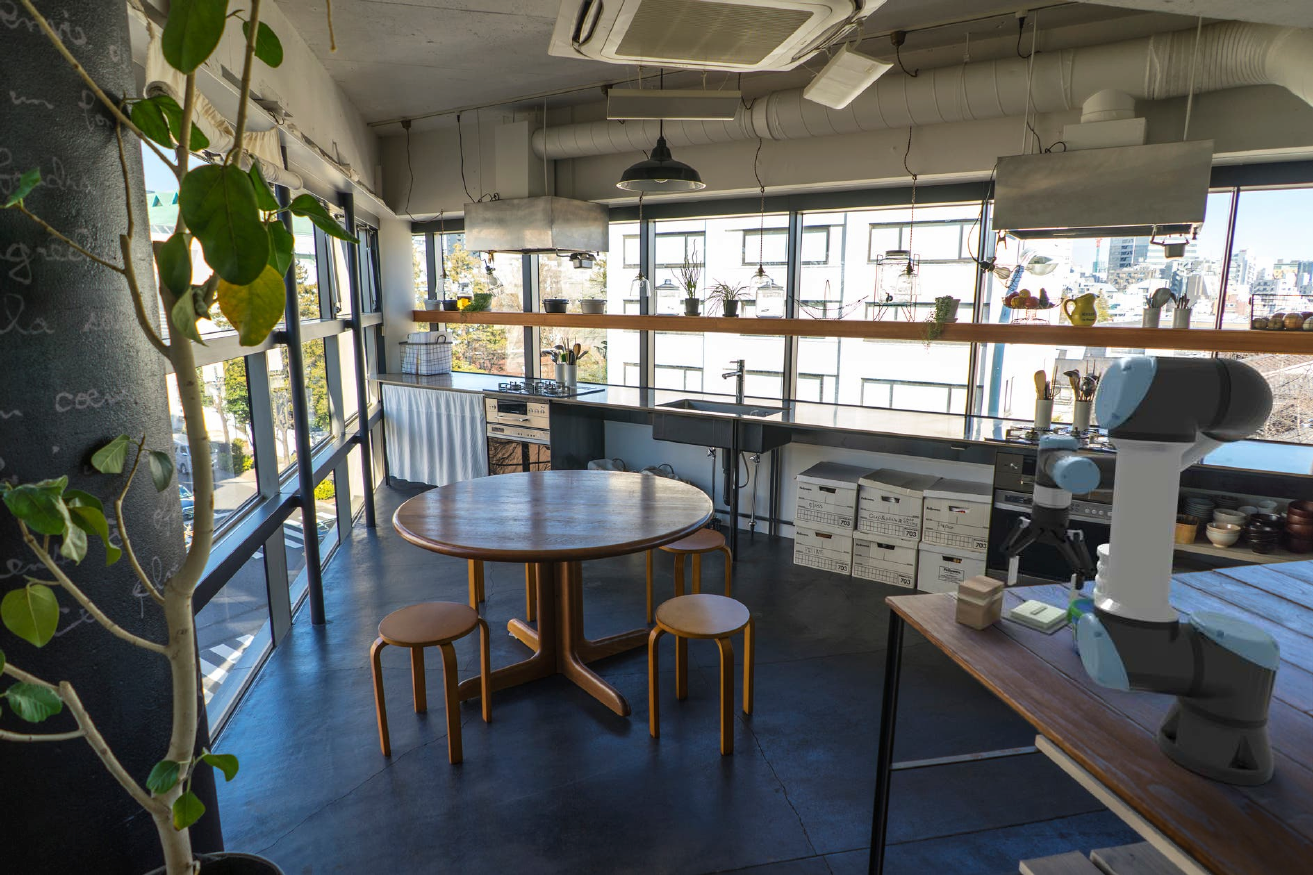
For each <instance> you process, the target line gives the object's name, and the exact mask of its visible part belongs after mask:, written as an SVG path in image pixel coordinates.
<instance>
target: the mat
mask: <svg viewBox="0 0 1313 875" xmlns="http://www.w3.org/2000/svg"><path fill="white" fill-rule="evenodd" d="M1028 601H1029V600H1027V601H1025V602H1023V603H1021V604H1019V605H1017V606H1016V607H1014V608H1012V609H1010V610H1008V611H1007V612H1006V611H1005V613H1002V614H1001V619H1004V620H1007V621H1010V622H1012V623H1015V624H1018V625H1021V626H1023V627H1027V628H1029V629H1033V630H1035V631H1038V632H1040V633H1043V634H1045V635H1046V634H1047V635H1049V636H1050V635H1052V634H1053V633H1055V632H1056V631H1059V630H1060V629H1062V628H1063V627H1065V626H1066V625H1067V624H1069V623H1068V622H1067V620H1066V617H1064V618H1063V619H1061V620H1059V621H1058V622H1056V623H1055V624H1053V625H1051V626H1050V627H1048V628H1046V629H1045V628H1042V627H1040V626H1037V625H1034V624H1031V623H1028V622H1025V621H1023V620H1020V619H1017V618H1014V617H1011V616H1010V615H1011V610H1013V609H1015V608H1017V607H1018V606H1020V605H1022V604H1024V603H1026V602H1028ZM1066 615H1067V613H1066Z"/></svg>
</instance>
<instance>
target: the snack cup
mask: <svg viewBox="0 0 1313 875" xmlns="http://www.w3.org/2000/svg"><path fill="white" fill-rule="evenodd" d="M1095 600H1096V599H1094V598H1078V599H1076V600H1074V601H1072V602H1071V604H1069V607H1068V609H1067V611H1066V614H1067V615H1066V620H1067V622H1068V624H1071V629H1072V630H1071V632H1072V633H1071V636H1072V638H1071V640H1072V649H1073V651H1075V653H1077V654H1079V655H1080V651H1079V646H1078V638H1077V625H1078V621H1079V618H1080V616H1081V615H1083V614H1086V613H1092V614H1093V608H1094V601H1095Z"/></svg>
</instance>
